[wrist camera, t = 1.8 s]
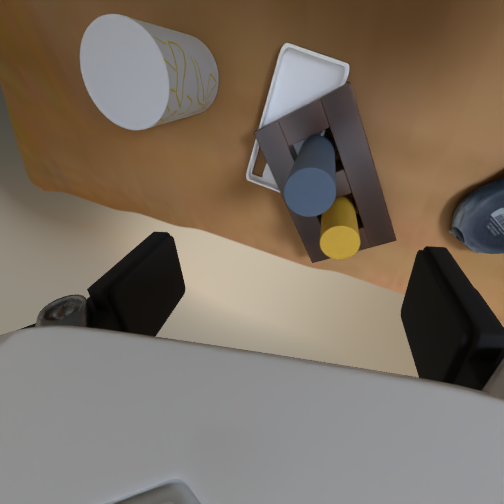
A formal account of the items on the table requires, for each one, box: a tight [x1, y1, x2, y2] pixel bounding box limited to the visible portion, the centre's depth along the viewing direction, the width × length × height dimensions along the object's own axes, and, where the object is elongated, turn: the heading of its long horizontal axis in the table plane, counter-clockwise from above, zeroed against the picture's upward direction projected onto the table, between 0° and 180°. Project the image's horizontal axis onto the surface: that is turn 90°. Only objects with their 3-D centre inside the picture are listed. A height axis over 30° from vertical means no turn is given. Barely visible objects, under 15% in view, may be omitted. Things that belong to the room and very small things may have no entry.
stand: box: [254, 82, 396, 263], centre depth 34 cm, size 11×18×4 cm, turn 28°
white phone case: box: [246, 43, 349, 192], centre depth 32 cm, size 7×1×15 cm
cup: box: [80, 14, 219, 130], centre depth 28 cm, size 8×8×12 cm
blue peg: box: [284, 134, 336, 217], centre depth 28 cm, size 4×4×15 cm
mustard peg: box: [320, 194, 360, 259], centre depth 33 cm, size 4×4×10 cm
